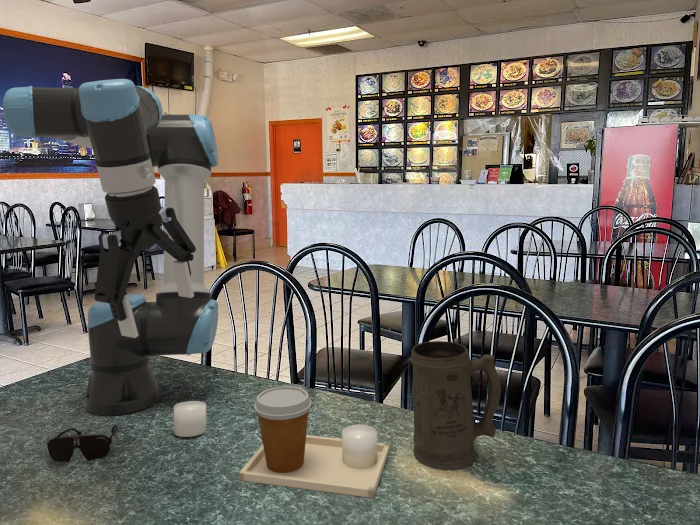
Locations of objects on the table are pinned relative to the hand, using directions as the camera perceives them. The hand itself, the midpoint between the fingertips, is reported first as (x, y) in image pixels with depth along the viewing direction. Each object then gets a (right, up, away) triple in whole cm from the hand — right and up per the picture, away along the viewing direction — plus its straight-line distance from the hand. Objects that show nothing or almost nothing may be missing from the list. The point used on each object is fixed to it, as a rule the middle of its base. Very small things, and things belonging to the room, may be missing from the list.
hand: (160, 314), depth 90 cm
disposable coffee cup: (+20, -26, +3) cm, 33 cm away
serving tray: (+26, -26, +3) cm, 37 cm away
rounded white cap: (0, -24, +16) cm, 29 cm away
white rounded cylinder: (+33, -25, +4) cm, 42 cm away
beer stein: (+49, -26, +6) cm, 56 cm away
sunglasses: (-17, -26, +11) cm, 33 cm away
